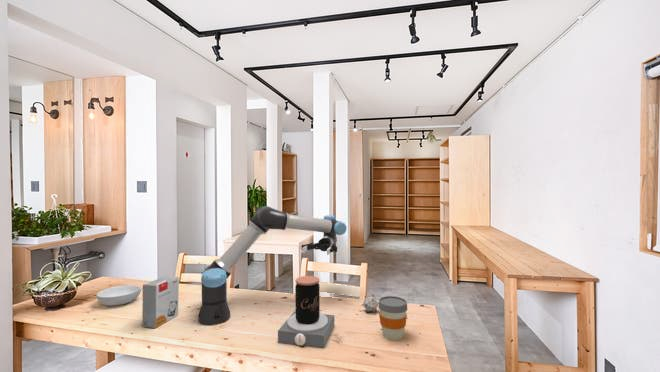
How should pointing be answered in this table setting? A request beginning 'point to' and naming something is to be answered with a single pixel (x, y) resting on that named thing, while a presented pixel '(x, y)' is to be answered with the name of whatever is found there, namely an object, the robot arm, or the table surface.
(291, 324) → the kitchen scale
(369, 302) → the game die
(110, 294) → the serving bowl
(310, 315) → the coffee jar
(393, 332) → the reusable coffee cup
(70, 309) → the table surface
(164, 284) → the hard drive box
